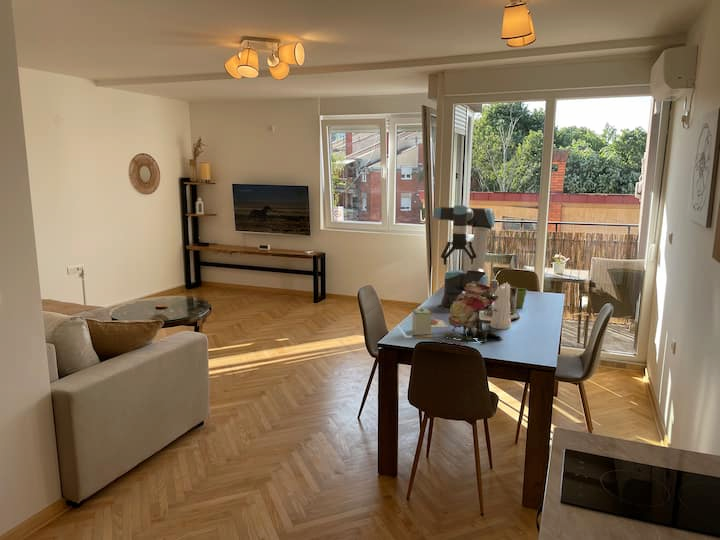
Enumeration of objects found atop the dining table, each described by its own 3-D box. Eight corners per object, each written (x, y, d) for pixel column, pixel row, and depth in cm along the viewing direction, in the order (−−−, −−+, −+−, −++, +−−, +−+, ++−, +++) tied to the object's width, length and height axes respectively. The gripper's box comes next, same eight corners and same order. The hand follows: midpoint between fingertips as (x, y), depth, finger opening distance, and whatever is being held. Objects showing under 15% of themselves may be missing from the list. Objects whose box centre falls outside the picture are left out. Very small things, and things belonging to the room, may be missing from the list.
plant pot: (524, 304, 347) (525, 288, 345) (527, 309, 335) (529, 292, 333) (505, 304, 348) (506, 287, 346) (508, 308, 336) (510, 291, 334)
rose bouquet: (462, 326, 296) (464, 274, 291) (507, 338, 275) (510, 282, 269) (432, 335, 279) (434, 280, 274) (477, 349, 258) (480, 289, 252)
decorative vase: (496, 329, 291) (499, 285, 286) (487, 324, 301) (489, 281, 296) (514, 328, 293) (516, 284, 289) (504, 323, 304) (506, 280, 299)
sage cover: (412, 330, 286) (413, 307, 283) (426, 330, 287) (427, 306, 284) (415, 335, 278) (416, 310, 275) (430, 334, 279) (431, 310, 276)
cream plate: (419, 322, 304) (420, 316, 303) (441, 321, 305) (442, 316, 305) (425, 328, 291) (425, 322, 290) (448, 328, 293) (448, 322, 292)
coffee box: (499, 312, 328) (500, 286, 325) (501, 309, 333) (503, 285, 330) (514, 314, 324) (515, 288, 321) (516, 311, 329) (518, 286, 326)
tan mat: (408, 329, 289) (408, 328, 289) (427, 329, 291) (427, 328, 291) (414, 338, 274) (414, 337, 274) (435, 337, 275) (435, 336, 275)
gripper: (439, 233, 289) (438, 271, 293) (483, 233, 292) (481, 271, 296) (436, 232, 297) (434, 269, 300) (478, 232, 300) (476, 268, 304)
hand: (457, 270), depth 298 cm, fingers open, 13 cm apart
